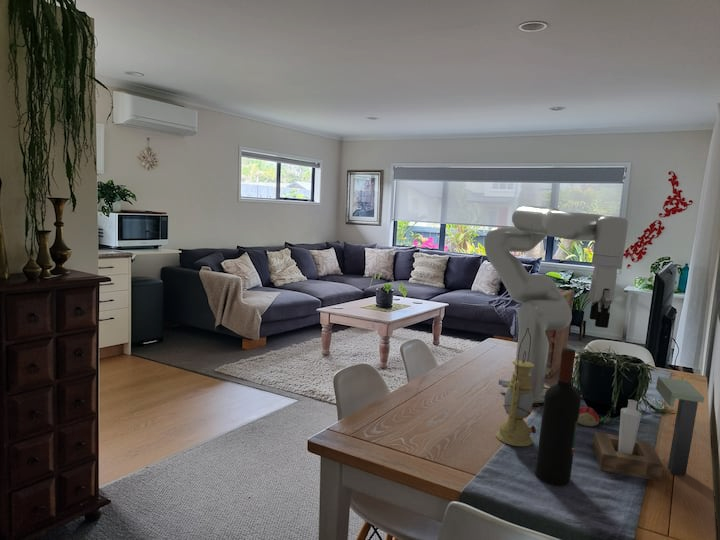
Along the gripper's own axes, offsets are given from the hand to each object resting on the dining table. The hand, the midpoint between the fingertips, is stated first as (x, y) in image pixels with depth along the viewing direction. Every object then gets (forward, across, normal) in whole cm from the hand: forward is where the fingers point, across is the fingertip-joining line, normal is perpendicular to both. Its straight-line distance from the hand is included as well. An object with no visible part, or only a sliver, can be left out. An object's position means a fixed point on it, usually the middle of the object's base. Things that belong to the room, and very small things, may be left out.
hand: (598, 323), depth 146 cm
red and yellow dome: (+31, -5, +1) cm, 31 cm away
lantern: (+31, +17, -19) cm, 40 cm away
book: (+31, -54, -7) cm, 62 cm away
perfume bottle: (+30, +19, +7) cm, 36 cm away
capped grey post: (+30, +19, +17) cm, 39 cm away
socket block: (+30, +19, +7) cm, 36 cm away
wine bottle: (+30, +34, -11) cm, 47 cm away
